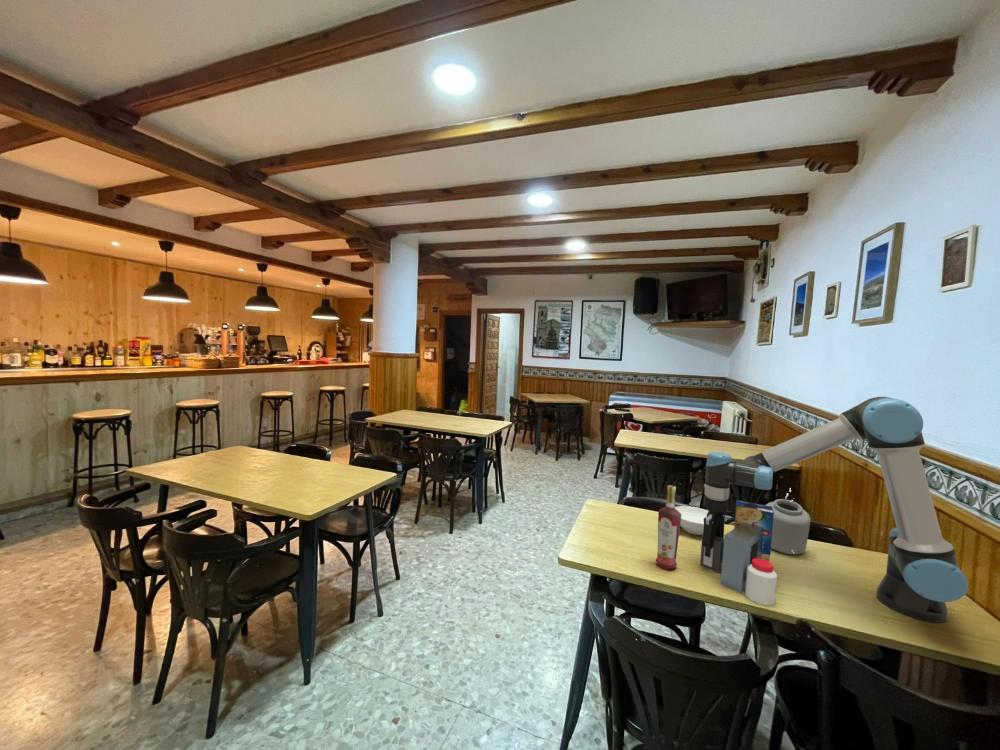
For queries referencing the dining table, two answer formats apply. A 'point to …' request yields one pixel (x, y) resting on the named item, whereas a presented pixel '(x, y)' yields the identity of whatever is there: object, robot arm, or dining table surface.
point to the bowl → (692, 519)
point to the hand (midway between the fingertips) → (711, 562)
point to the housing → (740, 554)
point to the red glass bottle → (668, 531)
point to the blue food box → (756, 521)
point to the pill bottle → (761, 582)
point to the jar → (789, 527)
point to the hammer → (715, 555)
